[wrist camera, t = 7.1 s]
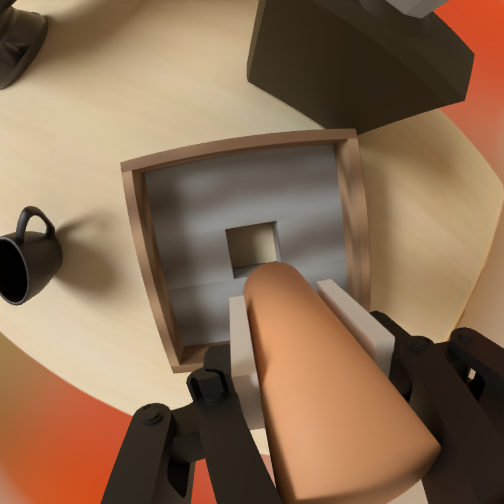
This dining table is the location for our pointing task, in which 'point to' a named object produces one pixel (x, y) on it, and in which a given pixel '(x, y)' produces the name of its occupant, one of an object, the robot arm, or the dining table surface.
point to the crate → (242, 214)
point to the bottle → (358, 59)
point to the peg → (327, 401)
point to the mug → (28, 259)
